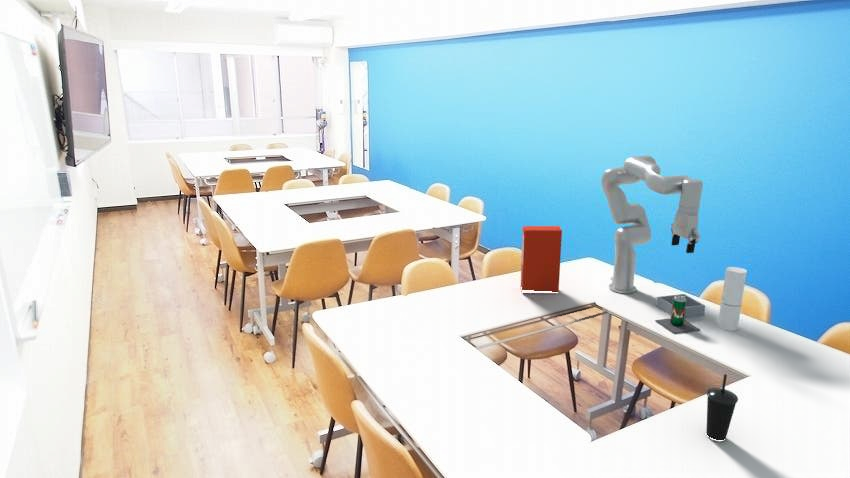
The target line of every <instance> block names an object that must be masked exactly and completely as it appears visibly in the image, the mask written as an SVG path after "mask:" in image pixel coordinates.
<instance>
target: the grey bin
mask: <svg viewBox="0 0 850 478" xmlns="http://www.w3.org/2000/svg"><path fill="white" fill-rule="evenodd" d="M677 295H679V296H684V297H685V298H686V300H687V301H686V309H685V317H684V319H685V318H692V317H693V318H694V317H700V316H705V310H706V305H705V304H703V303H701V302H699V301H698V300H696V299H694V298H693V297H690V296H688V295H687V294H685V293H682V294H671V295H661V296H657V297H656V307H657V308H659V309H660V310H661V311H664V312H665V313H667V314H668V315H670V316H671V311H672V303H673V298H674V296H677Z"/></svg>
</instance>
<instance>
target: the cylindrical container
mask: <svg viewBox="0 0 850 478" xmlns="http://www.w3.org/2000/svg"><path fill="white" fill-rule="evenodd" d="M747 272H748V271H747V269H745V268H743V267H739V266H738V267H737V266H727V267H726V268H725V275H724V280H723V281H724V282H723V286H722V287H723V288H722V295H721V301H720V307H719V314H718V320H717V327H718V328H720V329H721V330H724V331H728V332H734V331H735V332H736V331H737V330H738V327H739V321H740V315H741V310H742V304H743V303H742V302H743V295H744V291H745V284H746V279H747Z"/></svg>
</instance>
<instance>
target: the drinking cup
mask: <svg viewBox="0 0 850 478" xmlns="http://www.w3.org/2000/svg"><path fill="white" fill-rule="evenodd" d="M727 378H728V375H727V374H723V379H722V384H721V385H722V387H710V388H708V389H707V390H706V395H707V399H706V400H707V403H706V432H705V433H707V435H708V436H709V437H711V438H713V439H716V440H724V439H725V440H726V439H727V435H728V431H729V429H730V425H731V421H732V419H733V415H734V412H735V409H736V405H737V403H738V401H739V398H738V395H736V394H735V393H734V392H732V391H730V390H729V389H726V383H727V382H726V381H727ZM707 435H706V436H707Z"/></svg>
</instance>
